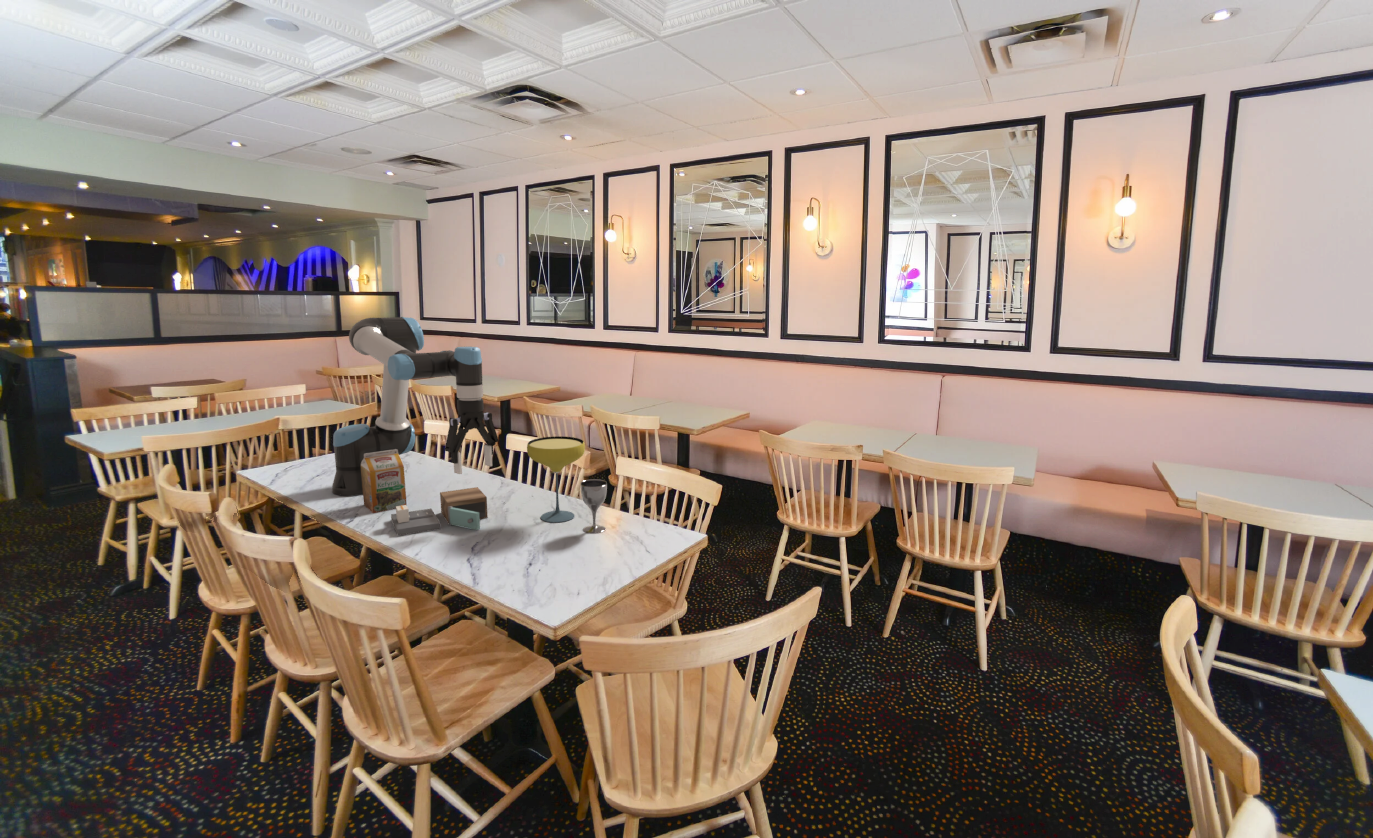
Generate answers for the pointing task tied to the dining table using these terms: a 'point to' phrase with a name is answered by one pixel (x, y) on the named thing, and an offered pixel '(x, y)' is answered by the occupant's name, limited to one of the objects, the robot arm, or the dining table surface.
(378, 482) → the milk carton
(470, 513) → the rack door
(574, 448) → the cocktail glass
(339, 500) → the dining table surface
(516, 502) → the dining table surface
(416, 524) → the mixer strip
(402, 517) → the fader knob
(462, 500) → the box
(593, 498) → the wine glass
